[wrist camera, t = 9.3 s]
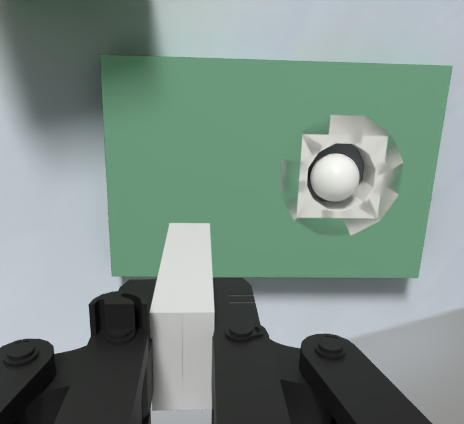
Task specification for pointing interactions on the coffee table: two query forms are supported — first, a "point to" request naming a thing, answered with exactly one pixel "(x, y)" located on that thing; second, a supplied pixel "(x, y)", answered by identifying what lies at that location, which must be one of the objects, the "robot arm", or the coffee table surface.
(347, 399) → the robot arm
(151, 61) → the mat
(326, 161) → the ball
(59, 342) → the coffee table surface
